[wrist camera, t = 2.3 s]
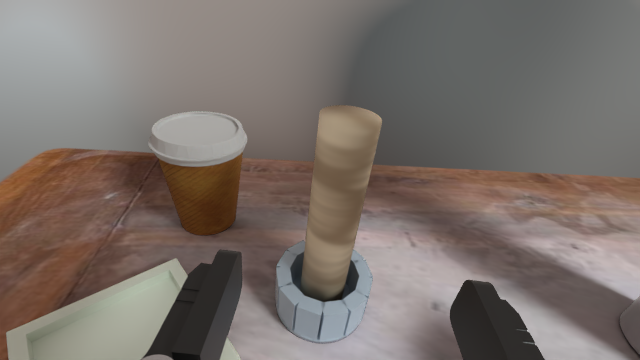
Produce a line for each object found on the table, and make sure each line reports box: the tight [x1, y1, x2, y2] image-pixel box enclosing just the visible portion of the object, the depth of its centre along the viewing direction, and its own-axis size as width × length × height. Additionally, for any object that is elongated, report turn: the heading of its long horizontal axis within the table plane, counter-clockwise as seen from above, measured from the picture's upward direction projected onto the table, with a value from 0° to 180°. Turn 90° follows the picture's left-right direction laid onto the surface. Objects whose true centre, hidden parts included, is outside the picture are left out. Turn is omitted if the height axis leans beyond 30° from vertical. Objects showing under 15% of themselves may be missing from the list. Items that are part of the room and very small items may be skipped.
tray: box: [6, 258, 241, 360], centre depth 23 cm, size 12×12×2 cm
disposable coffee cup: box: [149, 111, 247, 235], centre depth 35 cm, size 10×10×12 cm
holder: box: [275, 240, 373, 343], centre depth 28 cm, size 8×8×4 cm
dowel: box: [300, 105, 382, 302], centre depth 24 cm, size 4×4×18 cm
